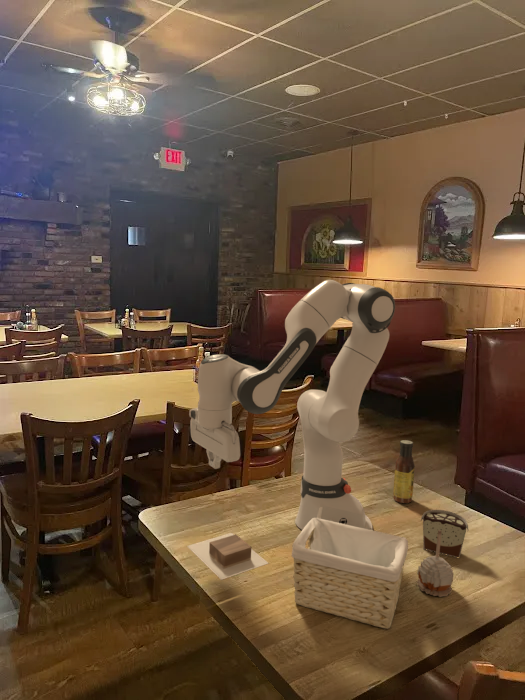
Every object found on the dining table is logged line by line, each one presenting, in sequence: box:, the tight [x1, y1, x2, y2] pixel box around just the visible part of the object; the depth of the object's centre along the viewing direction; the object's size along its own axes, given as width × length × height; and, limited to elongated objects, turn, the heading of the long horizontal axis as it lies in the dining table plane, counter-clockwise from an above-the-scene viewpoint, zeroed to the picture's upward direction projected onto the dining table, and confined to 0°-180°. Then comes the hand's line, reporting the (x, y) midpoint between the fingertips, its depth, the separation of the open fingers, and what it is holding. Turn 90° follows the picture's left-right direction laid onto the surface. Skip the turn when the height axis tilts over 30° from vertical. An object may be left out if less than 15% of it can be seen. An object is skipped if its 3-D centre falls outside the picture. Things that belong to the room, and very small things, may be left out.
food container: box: [420, 509, 469, 558], centre depth 150 cm, size 12×6×10 cm, turn 65°
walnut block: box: [209, 534, 252, 569], centre depth 141 cm, size 4×8×8 cm
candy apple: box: [416, 530, 454, 598], centre depth 131 cm, size 8×8×15 cm
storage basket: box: [291, 518, 409, 629], centre depth 125 cm, size 24×16×15 cm
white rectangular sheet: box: [186, 532, 269, 581], centre depth 142 cm, size 18×14×1 cm
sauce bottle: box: [392, 439, 416, 504], centre depth 178 cm, size 6×6×20 cm
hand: (214, 466), depth 145 cm, fingers closed
